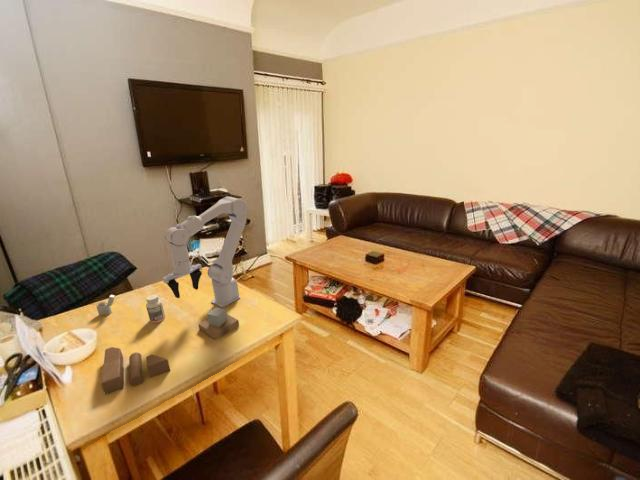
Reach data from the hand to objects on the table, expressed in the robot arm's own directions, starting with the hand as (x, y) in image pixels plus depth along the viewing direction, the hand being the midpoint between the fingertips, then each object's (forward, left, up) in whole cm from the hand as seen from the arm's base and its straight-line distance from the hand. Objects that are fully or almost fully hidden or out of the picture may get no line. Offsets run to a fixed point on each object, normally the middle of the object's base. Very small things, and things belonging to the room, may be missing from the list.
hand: (186, 292), depth 120 cm
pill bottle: (+9, -9, -11) cm, 17 cm away
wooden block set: (+25, +11, -11) cm, 29 cm away
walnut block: (-1, +16, -11) cm, 19 cm away
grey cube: (-1, +16, -8) cm, 18 cm away
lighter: (+18, -30, -11) cm, 37 cm away
